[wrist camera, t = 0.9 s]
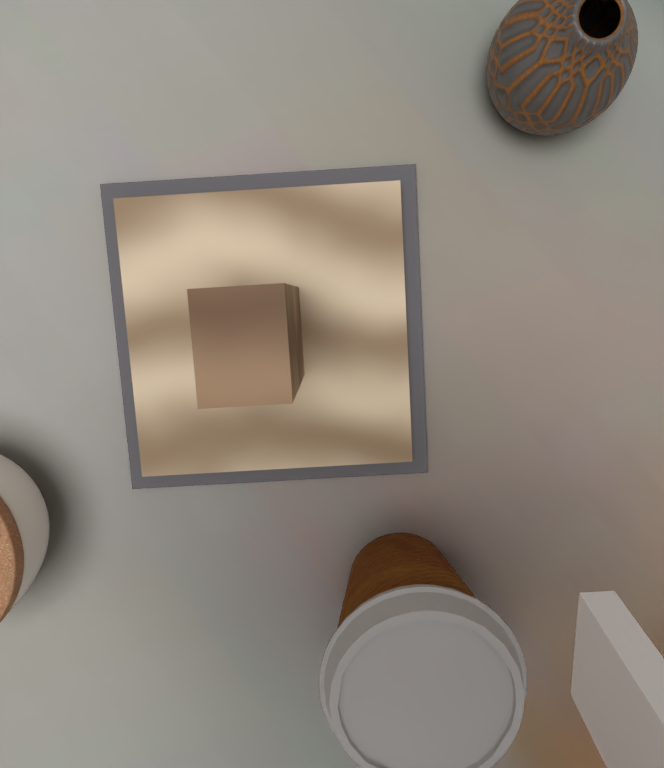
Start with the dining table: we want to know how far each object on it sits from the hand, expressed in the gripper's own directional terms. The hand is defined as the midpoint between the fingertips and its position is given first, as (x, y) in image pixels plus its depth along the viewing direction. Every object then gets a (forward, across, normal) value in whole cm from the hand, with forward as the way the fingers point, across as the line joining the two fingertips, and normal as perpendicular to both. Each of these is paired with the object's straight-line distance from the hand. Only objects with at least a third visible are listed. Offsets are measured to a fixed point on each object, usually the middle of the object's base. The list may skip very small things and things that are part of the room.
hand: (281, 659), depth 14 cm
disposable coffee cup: (+23, -5, +14) cm, 27 cm away
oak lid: (+25, +2, -2) cm, 25 cm away
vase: (+28, -14, -14) cm, 34 cm away
